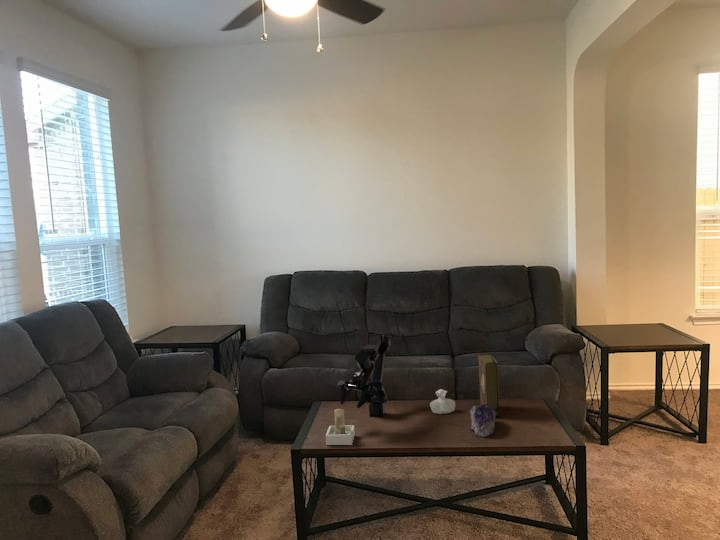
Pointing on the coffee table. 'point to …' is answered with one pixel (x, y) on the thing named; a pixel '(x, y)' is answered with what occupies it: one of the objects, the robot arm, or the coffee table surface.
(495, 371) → the book
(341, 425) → the peg
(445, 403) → the white rounded necked piece
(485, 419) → the geode
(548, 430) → the coffee table surface
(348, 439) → the bore box
